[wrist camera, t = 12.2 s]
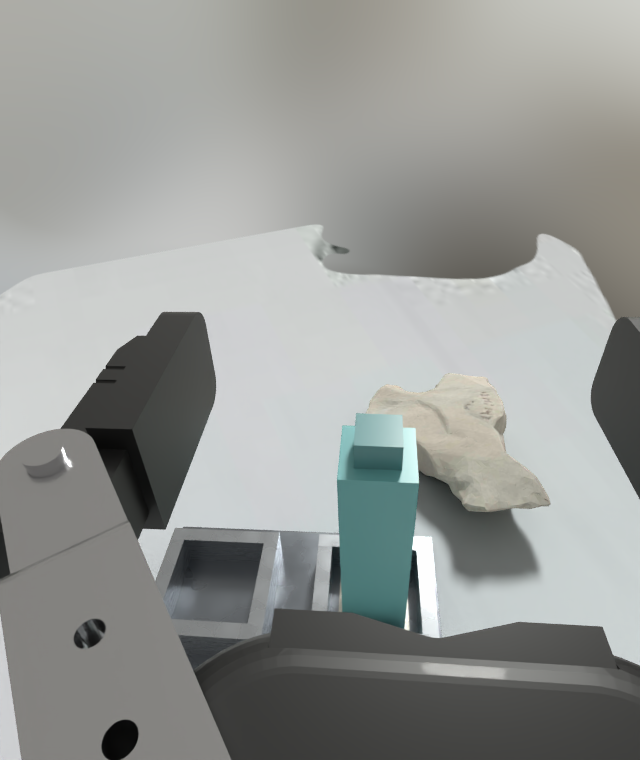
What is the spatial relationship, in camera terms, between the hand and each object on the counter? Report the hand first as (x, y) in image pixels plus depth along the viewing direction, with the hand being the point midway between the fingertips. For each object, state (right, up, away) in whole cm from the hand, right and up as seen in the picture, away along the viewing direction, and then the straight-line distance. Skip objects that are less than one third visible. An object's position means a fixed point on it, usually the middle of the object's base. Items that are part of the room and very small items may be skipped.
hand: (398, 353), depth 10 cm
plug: (+2, -16, +25) cm, 30 cm away
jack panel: (-3, -17, +27) cm, 32 cm away
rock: (+10, -7, +40) cm, 42 cm away
